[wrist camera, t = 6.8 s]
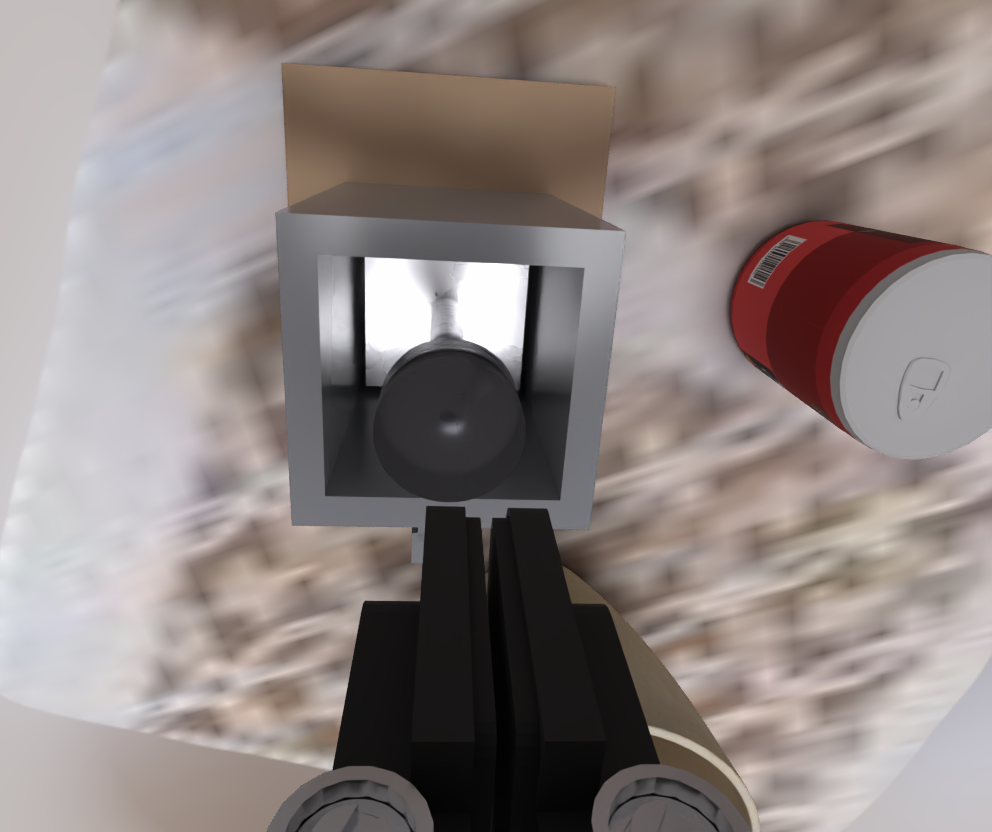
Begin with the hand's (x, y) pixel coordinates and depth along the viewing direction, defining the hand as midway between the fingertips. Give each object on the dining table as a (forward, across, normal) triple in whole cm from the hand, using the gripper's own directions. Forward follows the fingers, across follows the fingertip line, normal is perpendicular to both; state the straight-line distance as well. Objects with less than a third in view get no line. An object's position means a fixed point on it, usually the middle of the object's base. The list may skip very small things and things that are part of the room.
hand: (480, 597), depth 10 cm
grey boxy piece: (+24, +1, +2) cm, 24 cm away
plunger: (+20, +1, +1) cm, 20 cm away
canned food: (+26, -17, +1) cm, 32 cm away
